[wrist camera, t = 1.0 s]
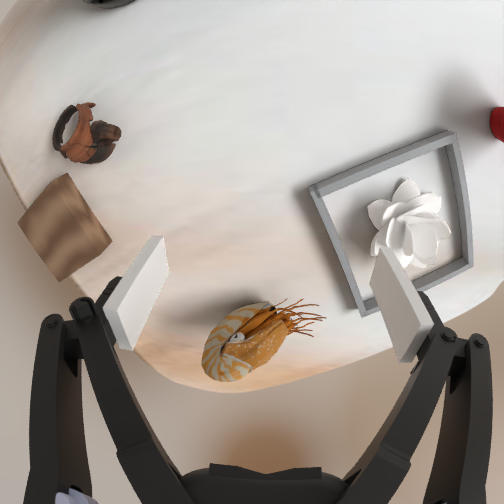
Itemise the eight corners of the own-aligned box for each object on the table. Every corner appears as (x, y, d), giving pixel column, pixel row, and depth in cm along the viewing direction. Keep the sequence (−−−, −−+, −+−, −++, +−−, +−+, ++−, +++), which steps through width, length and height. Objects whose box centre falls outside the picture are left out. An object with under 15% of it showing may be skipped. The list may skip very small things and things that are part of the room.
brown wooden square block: (32, 211, 44) (17, 222, 40) (68, 172, 40) (51, 181, 36) (71, 268, 51) (59, 282, 47) (113, 239, 46) (100, 254, 42)
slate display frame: (308, 187, 39) (310, 192, 37) (447, 130, 32) (455, 133, 30) (358, 308, 50) (361, 317, 48) (467, 259, 43) (473, 266, 41)
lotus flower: (396, 159, 36) (423, 176, 28) (454, 210, 39) (481, 234, 31) (344, 234, 43) (357, 265, 35) (406, 272, 45) (424, 304, 38)
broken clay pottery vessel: (81, 169, 40) (44, 161, 32) (91, 117, 39) (57, 103, 31) (132, 164, 36) (92, 151, 28) (144, 104, 36) (108, 83, 28)
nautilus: (325, 303, 50) (337, 370, 37) (221, 334, 55) (208, 397, 43) (312, 270, 46) (323, 338, 33) (200, 306, 52) (181, 370, 39)
